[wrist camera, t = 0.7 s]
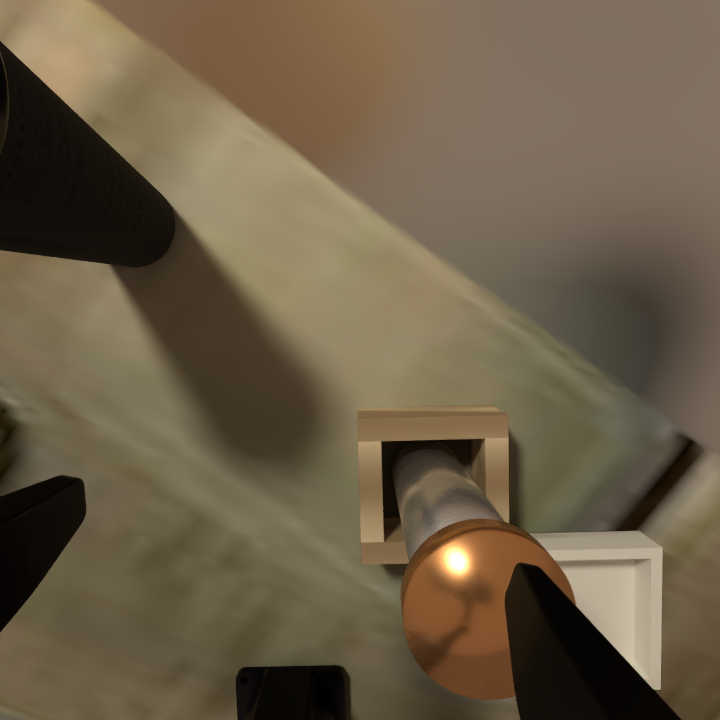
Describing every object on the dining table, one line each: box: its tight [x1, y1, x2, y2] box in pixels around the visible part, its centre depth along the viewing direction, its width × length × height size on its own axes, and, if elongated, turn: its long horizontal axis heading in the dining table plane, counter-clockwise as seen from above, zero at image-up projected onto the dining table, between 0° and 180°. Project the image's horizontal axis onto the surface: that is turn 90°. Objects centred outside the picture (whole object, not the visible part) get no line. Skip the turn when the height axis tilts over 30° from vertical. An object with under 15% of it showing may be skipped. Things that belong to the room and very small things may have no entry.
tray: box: [530, 531, 662, 690], centre depth 25 cm, size 8×8×2 cm
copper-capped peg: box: [392, 440, 576, 700], centre depth 19 cm, size 5×5×13 cm
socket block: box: [357, 405, 509, 565], centre depth 24 cm, size 8×8×3 cm
